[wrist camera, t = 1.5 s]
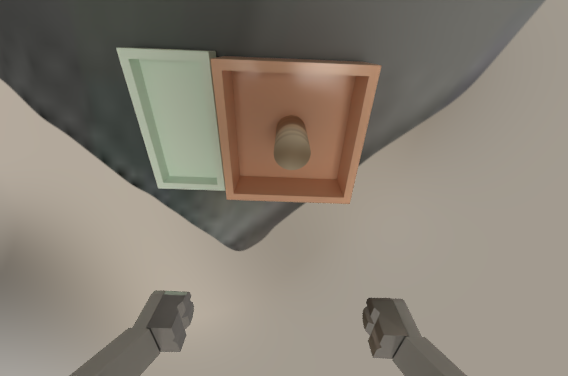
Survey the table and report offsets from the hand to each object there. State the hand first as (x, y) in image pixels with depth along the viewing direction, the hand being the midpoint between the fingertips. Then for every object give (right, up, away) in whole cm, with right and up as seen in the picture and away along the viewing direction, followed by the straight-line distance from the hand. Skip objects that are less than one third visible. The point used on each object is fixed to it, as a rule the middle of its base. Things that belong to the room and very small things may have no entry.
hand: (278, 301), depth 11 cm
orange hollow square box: (+1, +14, +22) cm, 26 cm away
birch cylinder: (+1, +13, +21) cm, 25 cm away
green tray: (-13, +14, +22) cm, 29 cm away
